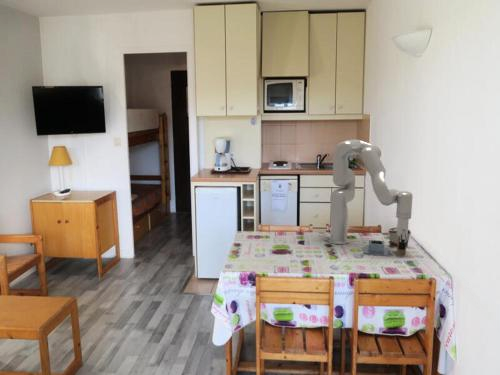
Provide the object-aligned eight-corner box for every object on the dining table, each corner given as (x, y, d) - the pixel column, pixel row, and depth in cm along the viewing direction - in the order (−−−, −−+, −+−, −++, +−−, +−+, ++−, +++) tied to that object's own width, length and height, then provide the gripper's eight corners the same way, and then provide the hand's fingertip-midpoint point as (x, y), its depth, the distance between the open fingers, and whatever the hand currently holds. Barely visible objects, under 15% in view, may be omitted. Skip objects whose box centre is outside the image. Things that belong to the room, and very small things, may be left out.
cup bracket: (362, 254, 234) (363, 244, 233) (362, 247, 246) (363, 238, 245) (390, 256, 231) (390, 246, 230) (389, 249, 242) (389, 240, 241)
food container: (407, 244, 251) (408, 227, 249) (410, 247, 245) (411, 230, 243) (385, 243, 252) (386, 227, 250) (387, 247, 246) (388, 230, 244)
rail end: (397, 254, 234) (398, 236, 232) (396, 252, 237) (398, 234, 236) (405, 255, 233) (406, 236, 231) (404, 252, 236) (406, 234, 235)
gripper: (395, 211, 240) (393, 243, 243) (397, 218, 224) (395, 252, 227) (409, 211, 238) (407, 244, 241) (412, 219, 222) (410, 253, 225)
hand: (401, 247), depth 234 cm, fingers closed on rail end, 4 cm apart
